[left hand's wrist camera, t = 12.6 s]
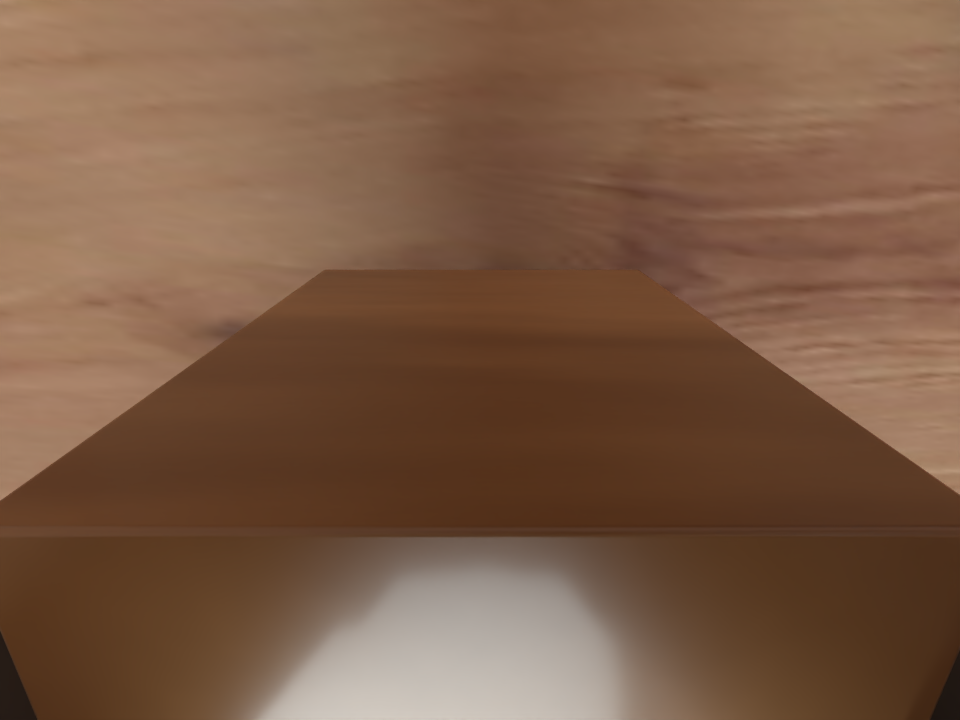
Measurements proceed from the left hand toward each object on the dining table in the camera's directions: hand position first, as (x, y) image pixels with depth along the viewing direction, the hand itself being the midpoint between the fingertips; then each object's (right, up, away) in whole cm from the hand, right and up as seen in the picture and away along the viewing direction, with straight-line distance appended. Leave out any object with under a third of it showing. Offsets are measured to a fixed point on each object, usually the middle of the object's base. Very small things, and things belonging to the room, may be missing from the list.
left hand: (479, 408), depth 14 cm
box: (0, -10, +5) cm, 11 cm away
